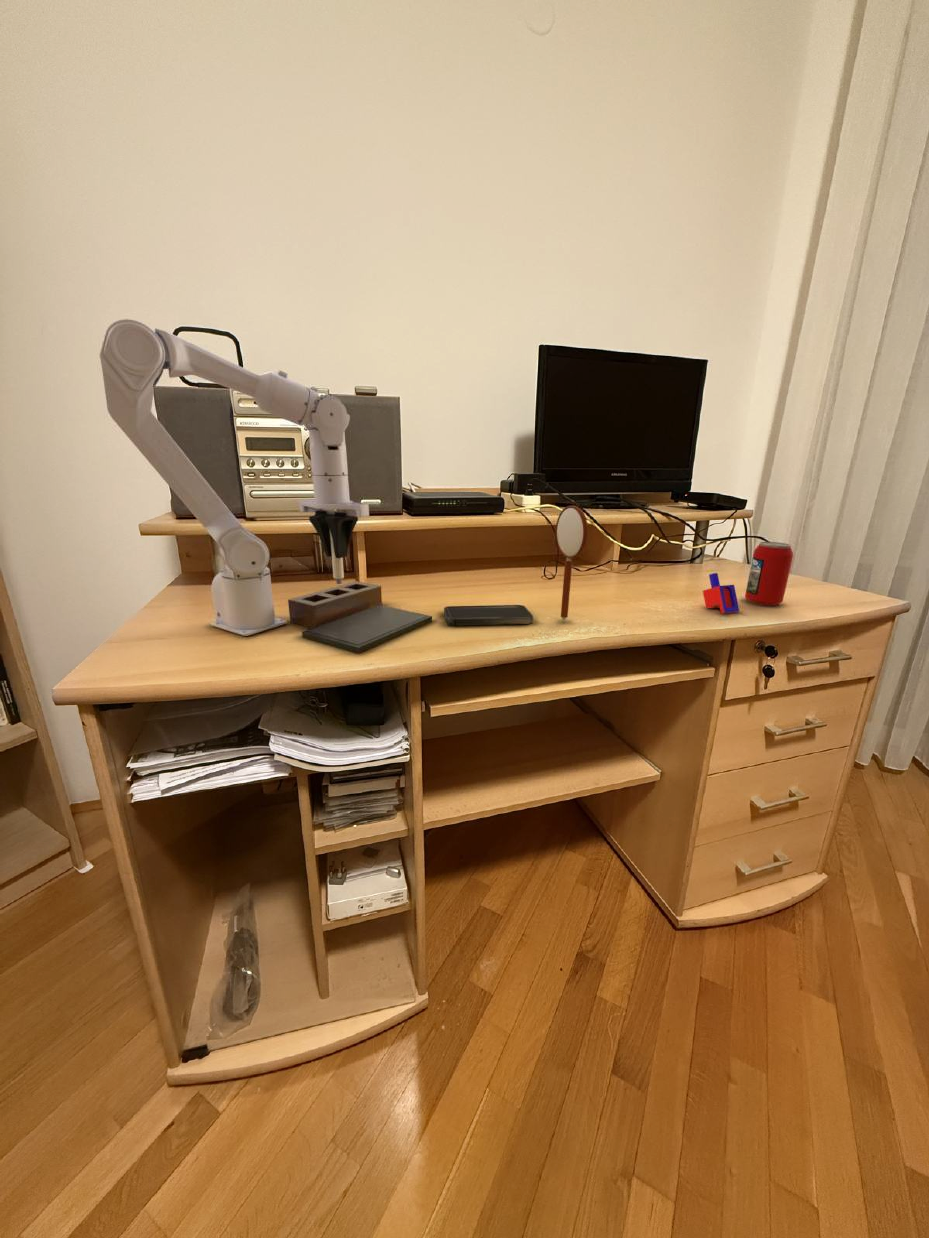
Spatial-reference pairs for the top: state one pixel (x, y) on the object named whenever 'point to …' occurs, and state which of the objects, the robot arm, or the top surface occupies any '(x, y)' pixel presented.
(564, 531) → the magnifying glass
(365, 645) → the tablet
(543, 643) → the top surface
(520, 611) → the phone
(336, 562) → the stylus
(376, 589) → the pen stand
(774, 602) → the beverage can
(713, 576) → the toy building block
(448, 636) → the top surface
